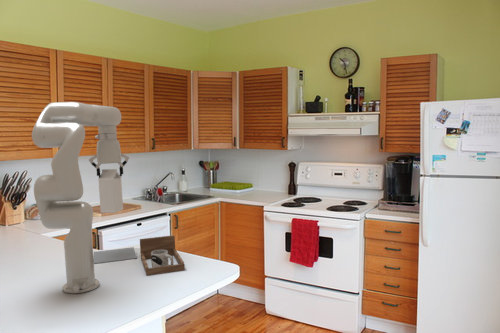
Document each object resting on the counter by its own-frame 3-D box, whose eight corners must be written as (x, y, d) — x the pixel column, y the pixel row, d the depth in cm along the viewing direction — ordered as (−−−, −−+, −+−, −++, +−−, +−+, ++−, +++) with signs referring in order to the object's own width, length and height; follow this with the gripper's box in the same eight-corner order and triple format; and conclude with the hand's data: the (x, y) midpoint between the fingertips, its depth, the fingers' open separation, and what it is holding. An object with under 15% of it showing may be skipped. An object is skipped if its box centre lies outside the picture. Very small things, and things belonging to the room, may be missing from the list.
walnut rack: (184, 270, 174) (183, 248, 173) (146, 275, 169) (145, 253, 168) (175, 254, 195) (174, 235, 194) (140, 259, 190) (139, 239, 189)
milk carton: (115, 213, 190) (112, 170, 189) (100, 213, 192) (97, 170, 190) (123, 210, 197) (120, 168, 196) (109, 210, 199) (106, 168, 197)
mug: (148, 269, 177) (147, 253, 176) (159, 264, 183) (158, 248, 182) (168, 272, 172) (167, 256, 172) (178, 267, 178) (177, 251, 177)
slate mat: (136, 258, 191) (136, 257, 191) (93, 264, 186) (93, 263, 186) (133, 247, 208) (133, 247, 208) (93, 252, 203) (93, 251, 202)
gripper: (86, 138, 185) (89, 179, 187) (128, 136, 191) (131, 176, 192) (87, 138, 192) (89, 177, 194) (127, 136, 198) (130, 174, 200)
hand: (110, 176), depth 193 cm, fingers closed on milk carton, 8 cm apart
